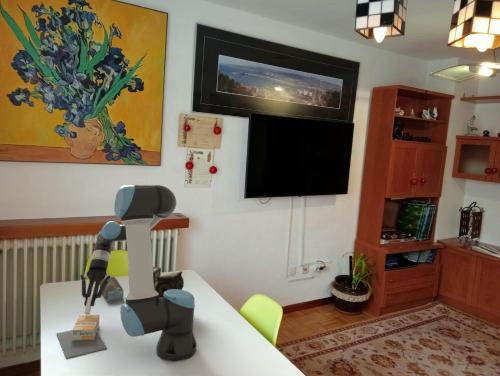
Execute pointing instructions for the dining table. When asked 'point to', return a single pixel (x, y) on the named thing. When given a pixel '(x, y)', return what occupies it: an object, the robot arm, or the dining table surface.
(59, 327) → the dining table surface
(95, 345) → the mat
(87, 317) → the supplement box
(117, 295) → the beverage carton
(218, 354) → the dining table surface
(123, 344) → the dining table surface
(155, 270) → the coffee box
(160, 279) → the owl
